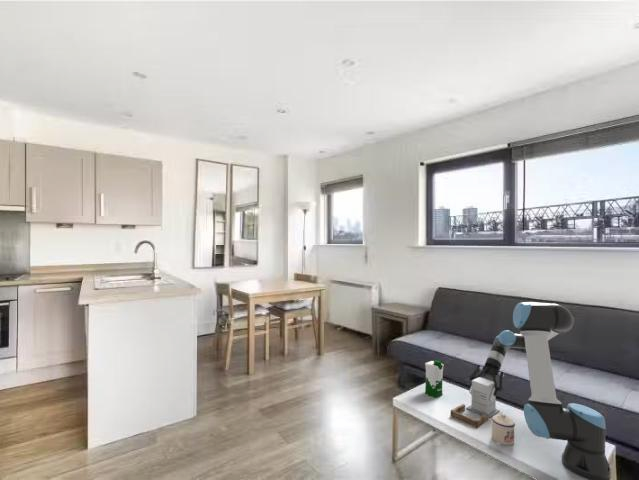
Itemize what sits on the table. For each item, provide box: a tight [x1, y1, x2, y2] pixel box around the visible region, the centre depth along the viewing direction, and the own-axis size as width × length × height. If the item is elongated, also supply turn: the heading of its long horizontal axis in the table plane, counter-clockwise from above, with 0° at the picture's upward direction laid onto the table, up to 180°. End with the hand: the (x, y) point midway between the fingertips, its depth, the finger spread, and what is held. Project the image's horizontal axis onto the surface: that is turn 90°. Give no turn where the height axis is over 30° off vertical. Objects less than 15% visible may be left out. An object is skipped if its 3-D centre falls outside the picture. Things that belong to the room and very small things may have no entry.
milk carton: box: [424, 359, 445, 399], centre depth 194 cm, size 9×9×20 cm
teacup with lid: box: [491, 412, 516, 447], centre depth 149 cm, size 12×9×12 cm
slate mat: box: [465, 404, 501, 419], centre depth 176 cm, size 12×12×1 cm
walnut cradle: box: [450, 403, 489, 429], centre depth 167 cm, size 12×13×3 cm
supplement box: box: [471, 377, 497, 414], centre depth 176 cm, size 9×9×15 cm
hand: (480, 397), depth 175 cm, fingers open, 10 cm apart
